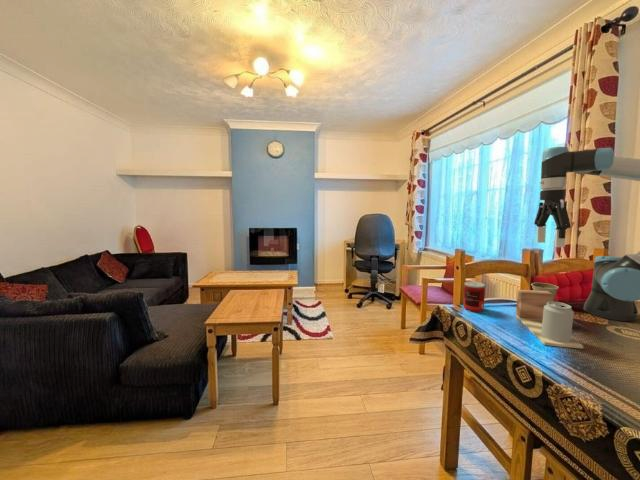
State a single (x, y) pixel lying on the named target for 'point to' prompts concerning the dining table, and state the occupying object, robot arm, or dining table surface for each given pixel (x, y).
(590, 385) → the dining table surface
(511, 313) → the dining table surface
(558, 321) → the can
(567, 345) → the wooden bracket
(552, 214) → the robot arm
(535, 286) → the flower pot
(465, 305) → the canned food
